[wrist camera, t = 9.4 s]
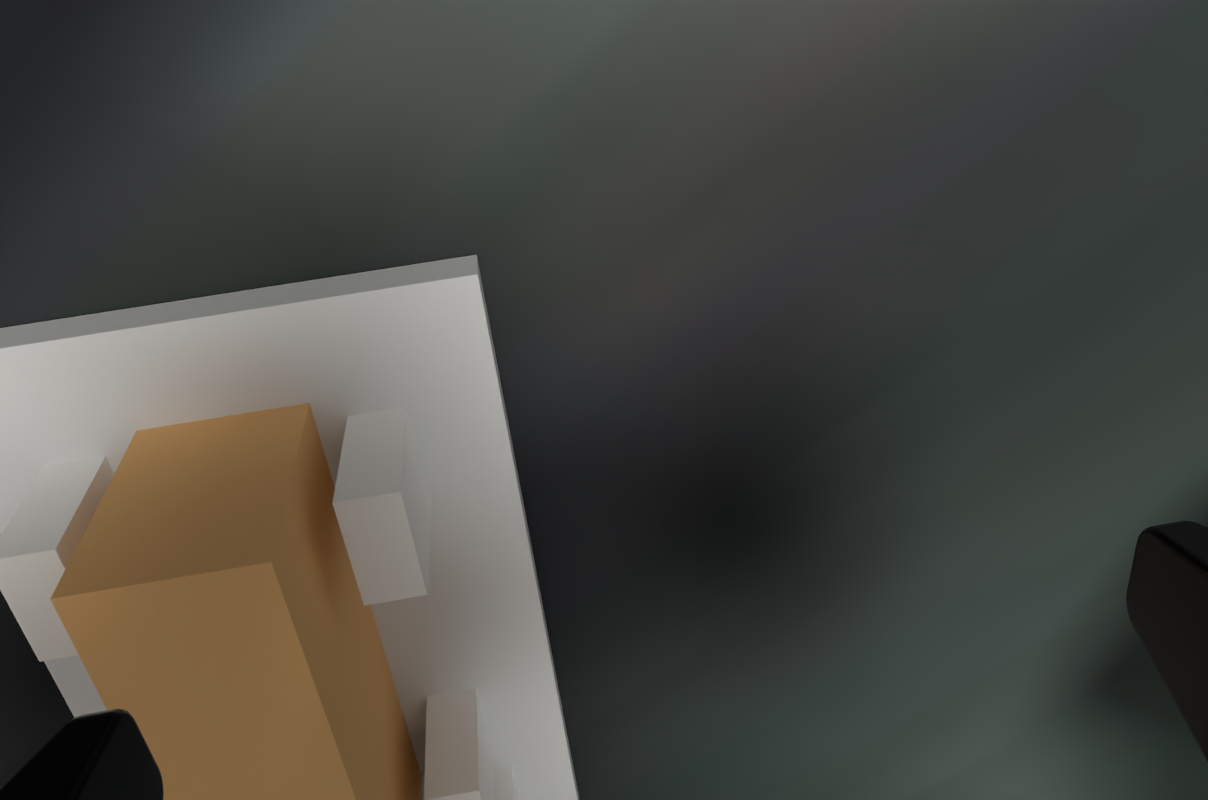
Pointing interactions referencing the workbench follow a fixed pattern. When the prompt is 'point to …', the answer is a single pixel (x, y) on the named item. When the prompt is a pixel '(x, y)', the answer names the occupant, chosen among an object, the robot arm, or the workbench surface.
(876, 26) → the workbench surface
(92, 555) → the two-tone rectangular block
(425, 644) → the board
